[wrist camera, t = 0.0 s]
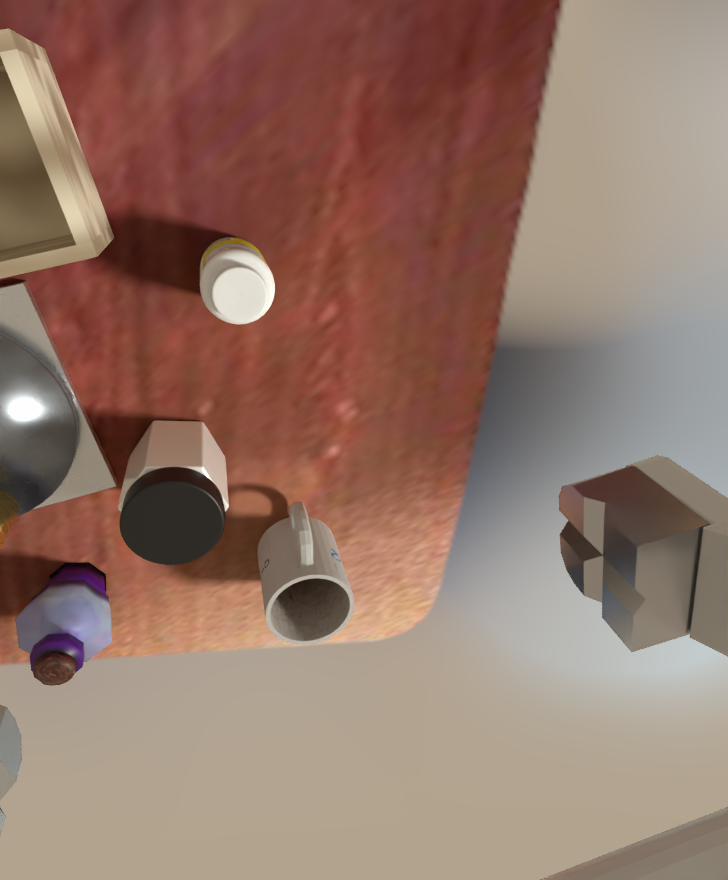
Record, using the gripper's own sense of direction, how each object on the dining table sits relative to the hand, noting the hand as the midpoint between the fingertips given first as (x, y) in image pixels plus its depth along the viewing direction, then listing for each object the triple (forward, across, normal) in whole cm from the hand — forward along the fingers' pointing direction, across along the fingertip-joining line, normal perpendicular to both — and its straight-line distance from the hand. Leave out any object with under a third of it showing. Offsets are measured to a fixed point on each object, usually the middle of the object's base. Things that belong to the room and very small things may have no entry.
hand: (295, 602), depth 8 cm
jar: (+48, +10, +20) cm, 53 cm away
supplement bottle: (+48, 0, +4) cm, 48 cm away
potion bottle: (+48, +24, +31) cm, 62 cm away
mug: (+48, +1, +33) cm, 58 cm away
